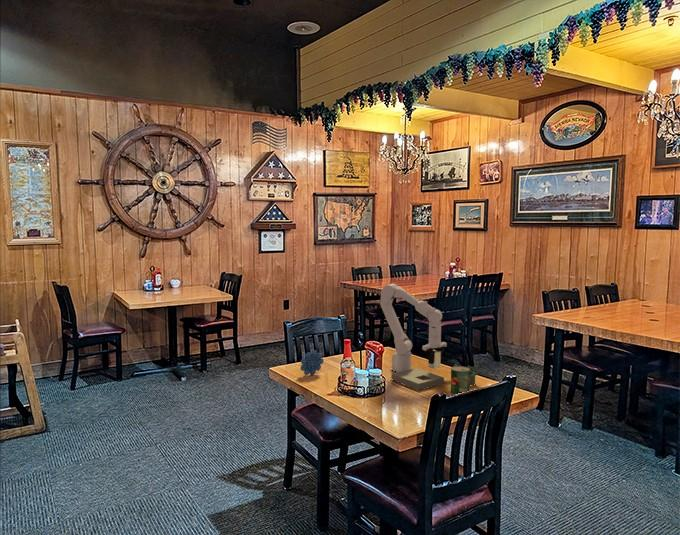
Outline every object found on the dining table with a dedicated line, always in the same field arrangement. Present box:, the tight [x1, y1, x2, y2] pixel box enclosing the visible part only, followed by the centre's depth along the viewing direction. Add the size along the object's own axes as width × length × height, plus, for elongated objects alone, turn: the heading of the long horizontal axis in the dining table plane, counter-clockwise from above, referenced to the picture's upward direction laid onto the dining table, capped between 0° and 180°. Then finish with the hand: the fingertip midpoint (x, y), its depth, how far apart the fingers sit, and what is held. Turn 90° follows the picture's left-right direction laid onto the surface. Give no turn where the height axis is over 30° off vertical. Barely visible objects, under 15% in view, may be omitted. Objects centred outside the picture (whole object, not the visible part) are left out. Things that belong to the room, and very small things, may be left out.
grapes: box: [300, 350, 325, 376], centre depth 242 cm, size 12×7×12 cm, turn 109°
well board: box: [390, 368, 445, 391], centre depth 231 cm, size 18×16×3 cm
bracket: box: [453, 363, 479, 387], centre depth 229 cm, size 9×9×9 cm
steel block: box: [427, 349, 442, 370], centre depth 241 cm, size 4×4×8 cm
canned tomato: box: [450, 365, 471, 396], centre depth 215 cm, size 8×8×11 cm
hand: (434, 362), depth 241 cm, fingers closed on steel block, 4 cm apart
